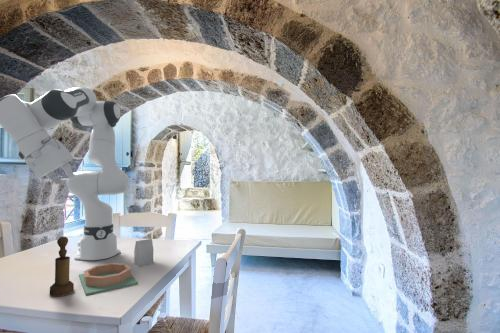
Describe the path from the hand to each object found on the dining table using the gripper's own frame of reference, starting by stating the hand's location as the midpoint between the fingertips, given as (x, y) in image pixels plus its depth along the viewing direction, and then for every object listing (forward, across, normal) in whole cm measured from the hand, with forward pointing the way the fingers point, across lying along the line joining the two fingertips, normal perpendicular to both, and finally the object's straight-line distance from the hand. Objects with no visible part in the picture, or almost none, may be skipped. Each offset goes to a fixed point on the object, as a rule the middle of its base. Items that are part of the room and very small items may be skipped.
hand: (65, 180), depth 95 cm
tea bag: (+46, +12, -10) cm, 49 cm away
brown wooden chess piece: (+30, +8, +19) cm, 37 cm away
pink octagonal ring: (+37, +7, +7) cm, 39 cm away
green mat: (+37, +7, +7) cm, 39 cm away
